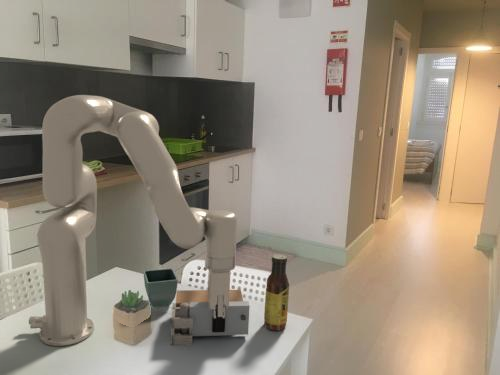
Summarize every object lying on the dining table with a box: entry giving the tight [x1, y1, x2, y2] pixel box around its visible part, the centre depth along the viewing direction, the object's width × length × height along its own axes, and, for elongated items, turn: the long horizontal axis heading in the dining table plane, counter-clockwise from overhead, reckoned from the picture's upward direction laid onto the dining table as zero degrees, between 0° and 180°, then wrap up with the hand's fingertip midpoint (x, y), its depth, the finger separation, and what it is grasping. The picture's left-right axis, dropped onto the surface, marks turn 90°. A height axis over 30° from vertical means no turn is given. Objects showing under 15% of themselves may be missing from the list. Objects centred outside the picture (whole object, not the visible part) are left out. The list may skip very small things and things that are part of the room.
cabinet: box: [175, 289, 244, 307], centre depth 115 cm, size 18×8×7 cm, turn 97°
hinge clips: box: [170, 302, 193, 346], centre depth 106 cm, size 5×8×7 cm, turn 7°
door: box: [180, 300, 250, 337], centre depth 106 cm, size 17×3×8 cm, turn 97°
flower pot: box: [143, 268, 179, 308], centre depth 123 cm, size 9×9×9 cm
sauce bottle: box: [263, 253, 290, 332], centre depth 112 cm, size 6×6×20 cm
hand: (218, 327), depth 107 cm, fingers closed on door, 2 cm apart
